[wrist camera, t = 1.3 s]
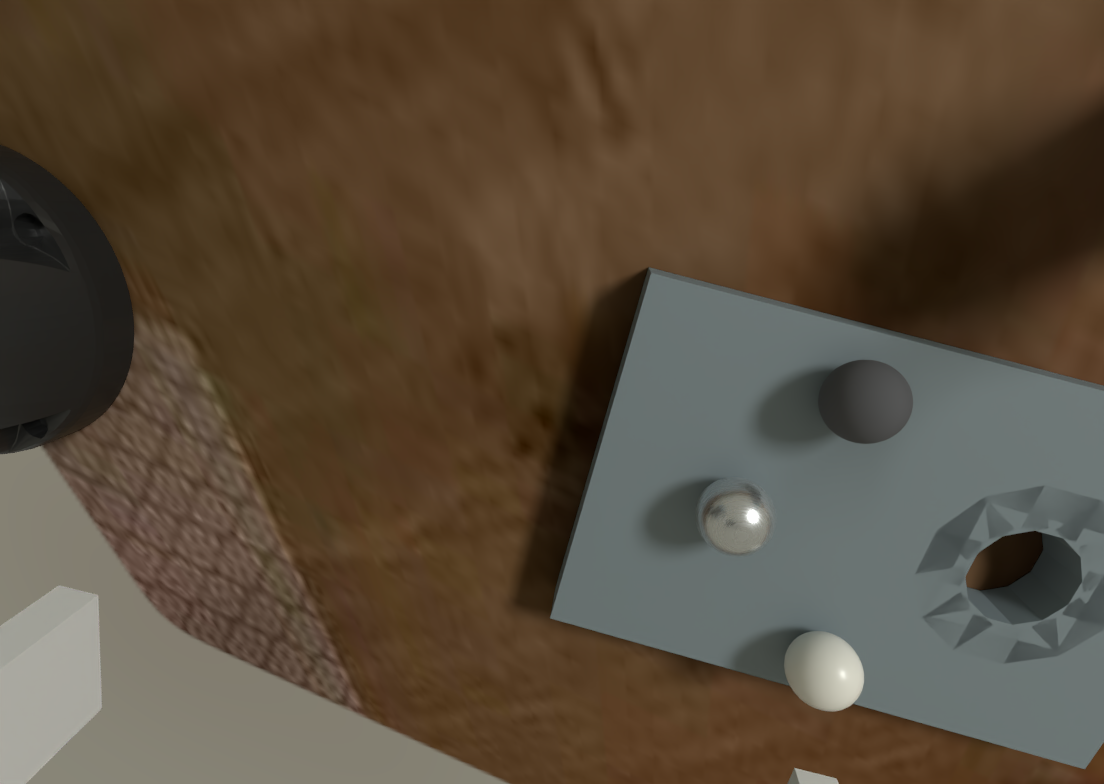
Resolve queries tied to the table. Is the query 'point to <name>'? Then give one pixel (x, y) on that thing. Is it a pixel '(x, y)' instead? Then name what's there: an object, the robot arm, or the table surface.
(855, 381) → the matte dark gray ball
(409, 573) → the table surface
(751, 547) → the steel ball
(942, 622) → the plate
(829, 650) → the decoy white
